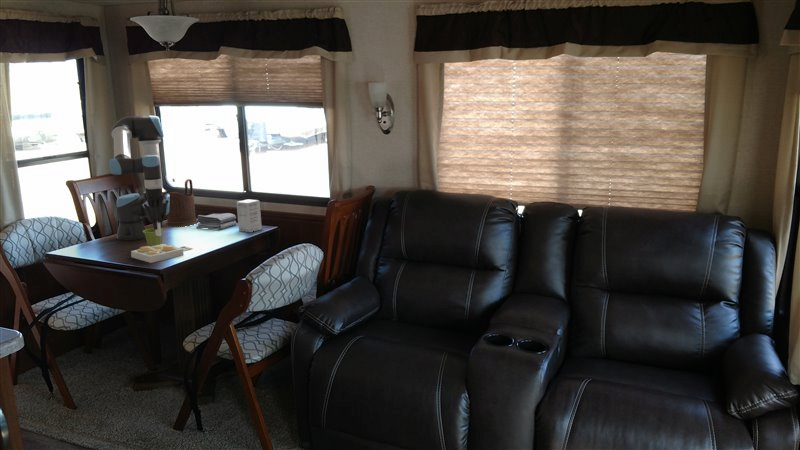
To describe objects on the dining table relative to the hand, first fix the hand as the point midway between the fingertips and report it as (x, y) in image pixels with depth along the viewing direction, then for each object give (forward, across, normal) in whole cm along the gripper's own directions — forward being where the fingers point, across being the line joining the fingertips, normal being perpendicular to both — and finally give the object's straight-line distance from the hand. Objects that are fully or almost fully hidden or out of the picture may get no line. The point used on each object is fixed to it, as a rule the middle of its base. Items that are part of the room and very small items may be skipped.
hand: (158, 235), depth 293 cm
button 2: (+8, -8, -8) cm, 14 cm away
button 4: (+7, 0, -8) cm, 11 cm away
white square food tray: (+9, -4, -4) cm, 11 cm away
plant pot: (+10, +5, +14) cm, 17 cm away
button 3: (+9, 0, -1) cm, 9 cm away
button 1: (+7, -8, -1) cm, 11 cm away
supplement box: (+10, +57, +3) cm, 58 cm away
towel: (+11, +52, +27) cm, 59 cm away
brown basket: (+11, +46, +51) cm, 70 cm away
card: (+9, +10, -3) cm, 14 cm away
